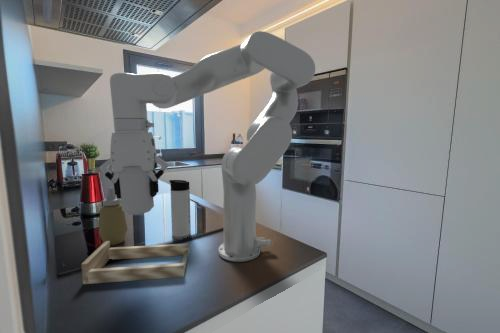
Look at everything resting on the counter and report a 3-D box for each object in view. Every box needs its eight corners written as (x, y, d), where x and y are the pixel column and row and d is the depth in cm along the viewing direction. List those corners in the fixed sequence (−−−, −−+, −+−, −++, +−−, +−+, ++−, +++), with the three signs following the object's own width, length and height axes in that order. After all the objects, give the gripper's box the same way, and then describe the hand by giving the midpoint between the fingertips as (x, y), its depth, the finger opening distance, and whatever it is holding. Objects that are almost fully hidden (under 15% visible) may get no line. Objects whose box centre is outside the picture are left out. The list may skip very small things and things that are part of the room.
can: (142, 216, 58) (138, 167, 57) (115, 215, 60) (110, 167, 58) (159, 207, 66) (156, 163, 64) (135, 206, 67) (131, 163, 66)
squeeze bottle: (107, 236, 83) (104, 185, 81) (132, 236, 84) (129, 185, 81) (94, 247, 75) (90, 191, 73) (121, 247, 76) (117, 190, 73)
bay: (189, 252, 72) (188, 236, 72) (183, 276, 60) (183, 257, 60) (106, 257, 69) (105, 241, 68) (83, 284, 57) (81, 264, 56)
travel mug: (168, 235, 84) (166, 179, 82) (185, 230, 89) (184, 177, 86) (176, 241, 80) (174, 182, 77) (194, 236, 84) (192, 179, 82)
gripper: (170, 126, 65) (175, 191, 67) (100, 127, 62) (107, 194, 65) (164, 125, 57) (169, 198, 60) (85, 127, 55) (93, 202, 57)
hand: (137, 196), depth 62 cm, fingers closed on can, 7 cm apart
